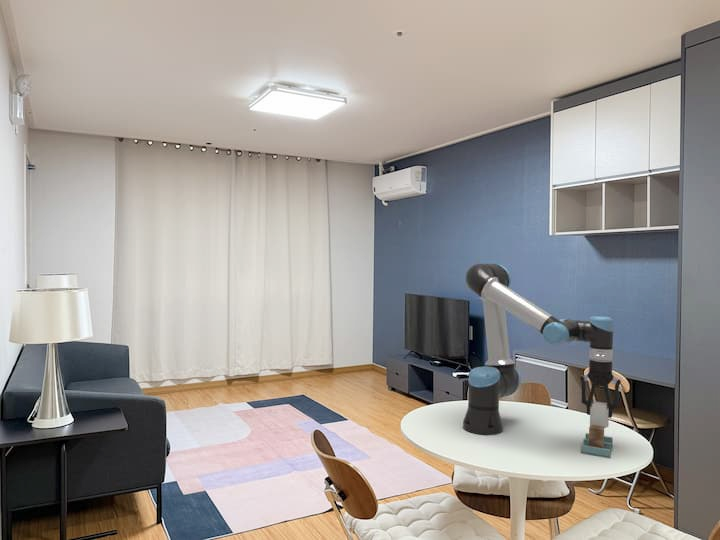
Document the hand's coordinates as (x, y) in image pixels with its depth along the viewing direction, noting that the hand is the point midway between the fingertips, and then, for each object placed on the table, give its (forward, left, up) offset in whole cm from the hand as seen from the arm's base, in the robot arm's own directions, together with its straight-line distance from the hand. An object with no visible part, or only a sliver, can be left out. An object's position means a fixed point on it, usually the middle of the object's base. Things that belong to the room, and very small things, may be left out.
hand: (599, 425), depth 196 cm
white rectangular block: (0, 0, 0) cm, 0 cm away
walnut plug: (0, -8, -7) cm, 10 cm away
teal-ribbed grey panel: (0, -4, -7) cm, 8 cm away
